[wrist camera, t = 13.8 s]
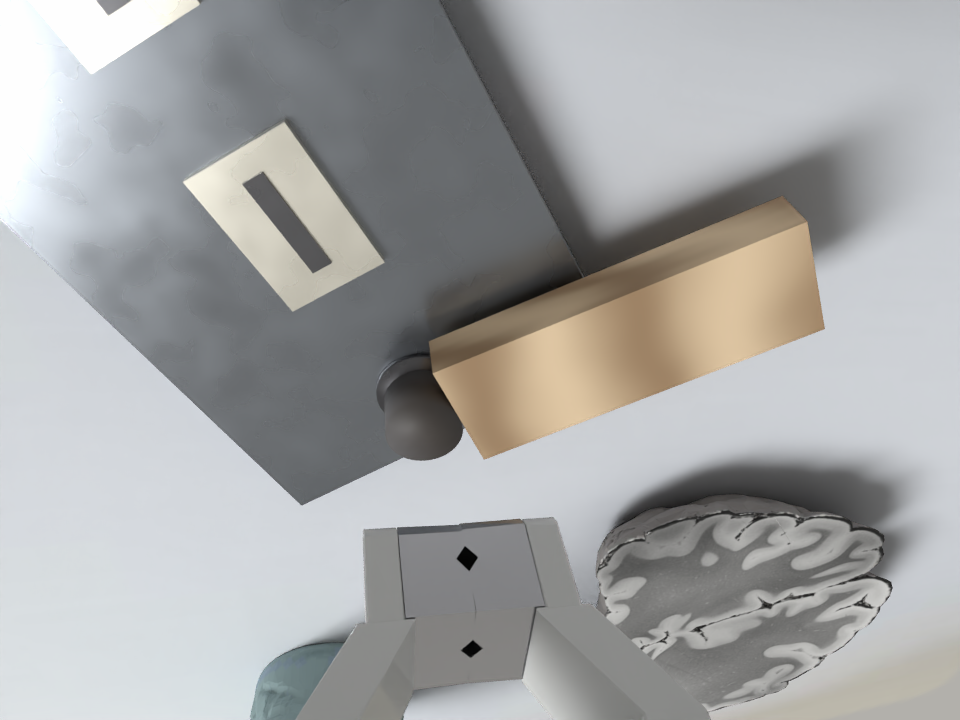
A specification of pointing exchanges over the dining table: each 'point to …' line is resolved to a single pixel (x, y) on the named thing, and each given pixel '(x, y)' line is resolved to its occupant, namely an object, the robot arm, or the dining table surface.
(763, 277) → the swing bar
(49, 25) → the gray base panel
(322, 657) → the teal textured cup
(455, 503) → the dining table surface
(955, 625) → the dining table surface
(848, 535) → the brain section slice
